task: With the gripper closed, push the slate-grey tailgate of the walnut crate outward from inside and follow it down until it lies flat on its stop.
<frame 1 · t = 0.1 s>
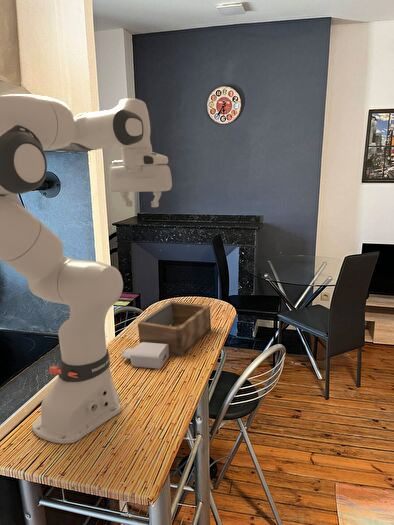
hand: (141, 206, 120), 48 cm above the table, tool pointing down, fingers open, 8 cm apart
tailgate: (158, 322, 142), point 6 cm above the table, hinge at 0.0°
crate: (177, 339, 140), on the table
charger: (142, 361, 127), on the table
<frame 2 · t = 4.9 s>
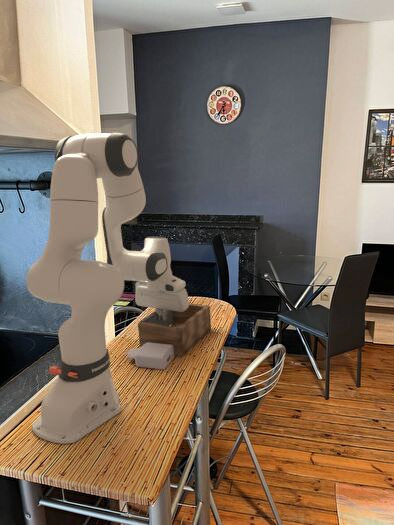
hand: (162, 319, 141), 7 cm above the table, tool pointing down, fingers closed
tailgate: (157, 322, 142), point 5 cm above the table, hinge at 1.9°, touching gripper
charger: (147, 361, 127), on the table
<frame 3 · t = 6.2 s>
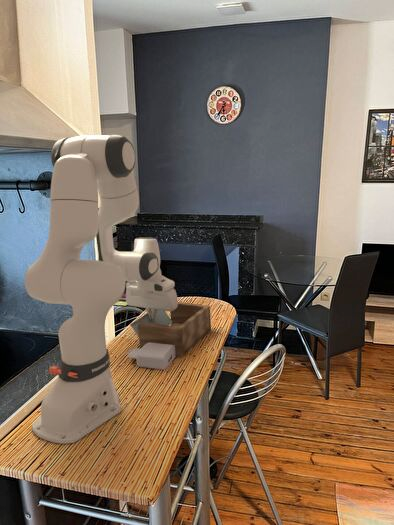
hand: (152, 319, 143), 6 cm above the table, tool pointing down, fingers closed, pressing on tailgate
tailgate: (152, 323, 144), point 5 cm above the table, hinge at 37.5°, touching gripper
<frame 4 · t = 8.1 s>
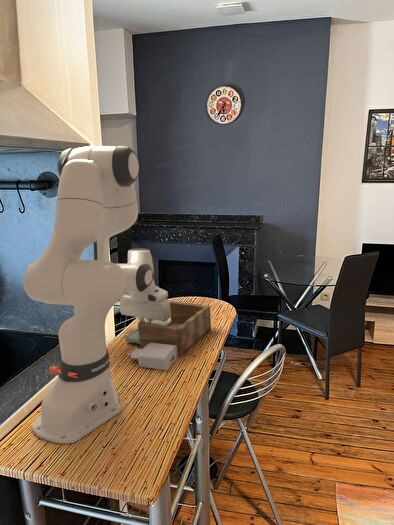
hand: (146, 328, 146), 2 cm above the table, tool pointing down, fingers closed, pressing on tailgate
tailgate: (149, 330, 145), point 2 cm above the table, hinge at 89.0°, touching gripper
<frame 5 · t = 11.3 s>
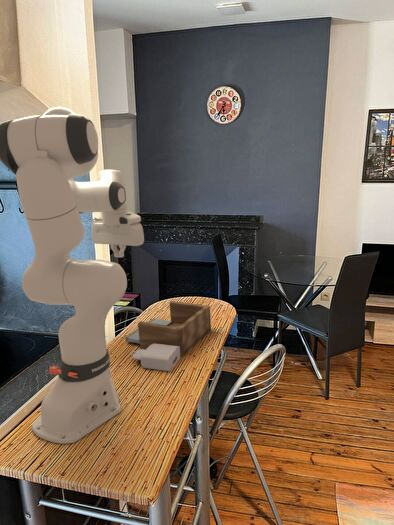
hand: (119, 256, 141), 29 cm above the table, tool pointing down, fingers closed
tailgate: (149, 330, 145), point 2 cm above the table, hinge at 89.0°
charger: (153, 363, 126), on the table
at the end: tailgate at +89° (first picture: +0°); charger moved 3.9 cm from its start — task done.
